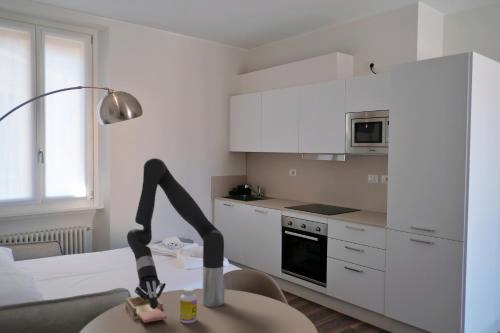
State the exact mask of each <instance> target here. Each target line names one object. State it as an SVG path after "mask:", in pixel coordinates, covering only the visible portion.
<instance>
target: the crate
mask: <svg viewBox="0 0 500 333" xmlns="http://www.w3.org/2000/svg"><path fill="white" fill-rule="evenodd" d="M157 302H158V306H157V308H156V309H152V308H151V307H150V303H149V300H144V299H142V298H141V297H140V296H139V295H137V296H133V297H126V298H125V310H126V311H127V312H128V314H129V315H130V317H131V318H132V319H133V320H134V321H135V320H141V319H140V318H139V316H138V313H142V312H147V311H153V310H159V309H160V310H161V311H162V312H163V313H164V308H163V307H164V304H163V303H162V301H161V300H159V298H157Z"/></svg>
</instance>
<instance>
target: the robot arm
mask: <svg viewBox="0 0 500 333" xmlns="http://www.w3.org/2000/svg"><path fill="white" fill-rule="evenodd" d="M142 174H143V177H142V178H143V179H142V185H141V186H142V187H141V194H140V197H139V202H138V204H137V211H136V213H135V214H136V215H135V220H134V221H135V224H138V225H141V226H142V229H137V228H132V229H130V230H129V231H128V232H127V235H126V240H127V244H128V246H129V248H130V249H131V251H132V253H133V255H134V258H135V266H136V272H137V277H138V286H136V287H135V289H134V293H136V295H137V296H140V297H141V298H142V299H144V300H149V303H150V307H151V308H152V309H156V308H157V306H158V302H157V299H159V298H160V297H161V295H162V293H163V292H164V289H165V287H166V285H167V284H166V283H165V282H164V283H162V282H161V281H160V279H159V278H158V277H159V276H158V272H157V268H156V263H155V261H154V259H153V255H152V250H151V248H150V247H149V246H148V245H149V244H150V243H151V242H152V238H153V234H152V220H153V216H154V212H155V211H154V210H155V204H156V195H157V194H156V193H157V189H158V186H159V187H160V188H161V190H162V191H163V192H164V194H165V196H166V198H167V199H168V201H169V203H170V204H171V206H172V207H173V209H174V210H175V211H176V212H177V213H178V215H179V216H180V217H181V218H182V219H183V220H184V221H185V222H187V223H188V224H189V225H190V226H191V227H192V228H193V229H194V230H195V231H196V233H198V236H200V238H201V239H202V240H201V241H203V242H202V243H203V244H202V245H203V246H202V299H201V300H202V302H201V304H202V306H204V307H207V308H209V307H210V308H214V307H215V308H216V307H220V306H222V305H224V304H225V296H226V294H225V293H226V292H225V291H226V290H225V289H226V288H225V287H226V285H225V282H224V259H225V256H224V255H225V240H224V236H223V235H224V234H222V232H221V231H220V230H219V229H218V228H217V227H216V226H214V224H213V223H212V222H210V221H209V219H208V218H207V217H206V215H205V213H204V211H203V210H202V208H201V207H200V206H199V205H198V203H197V202H196V201H195V200H194V198H193V197H192V196H191V194H190V193H189V192H188V191H187V190H186V189H185V188H184V187H183V186H182V185H181V183H179V182H178V181H177V180H176V179H175V177H174V176H173V175H172V172H171V171H170V170H169V168H168V167H167V165H166V164H165V162H164V161H163V160H162V159H160V158H156V157H152V158H150V159H147V160H146V161H145V163H144V165H143V173H142ZM158 287H159V290H158V291H157V289H158Z"/></svg>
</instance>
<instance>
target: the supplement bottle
mask: <svg viewBox="0 0 500 333" xmlns="http://www.w3.org/2000/svg"><path fill="white" fill-rule="evenodd" d="M195 290H196V289H195V287H193V286H192V287H191V286H188V287H184V288H182V295H180V298H179V300H180V301H179V304H180V305H179V321H180V322H181V323H183V324H193V323H194V322H196V321H197V314H198V313H197V311H198V306H197V305H198V297H197V295H196V294H195Z"/></svg>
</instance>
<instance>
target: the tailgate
mask: <svg viewBox="0 0 500 333" xmlns="http://www.w3.org/2000/svg"><path fill="white" fill-rule="evenodd" d="M138 316H139V318H140V319H139V320H141V321H142V323H144V324H145V323H150V322H155V321H160V320H167V317H168V316H167V314H165V313H164V311H163V312H162V311H161V310H160V309H159V310H153V311H147V312H142V313H138Z"/></svg>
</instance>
